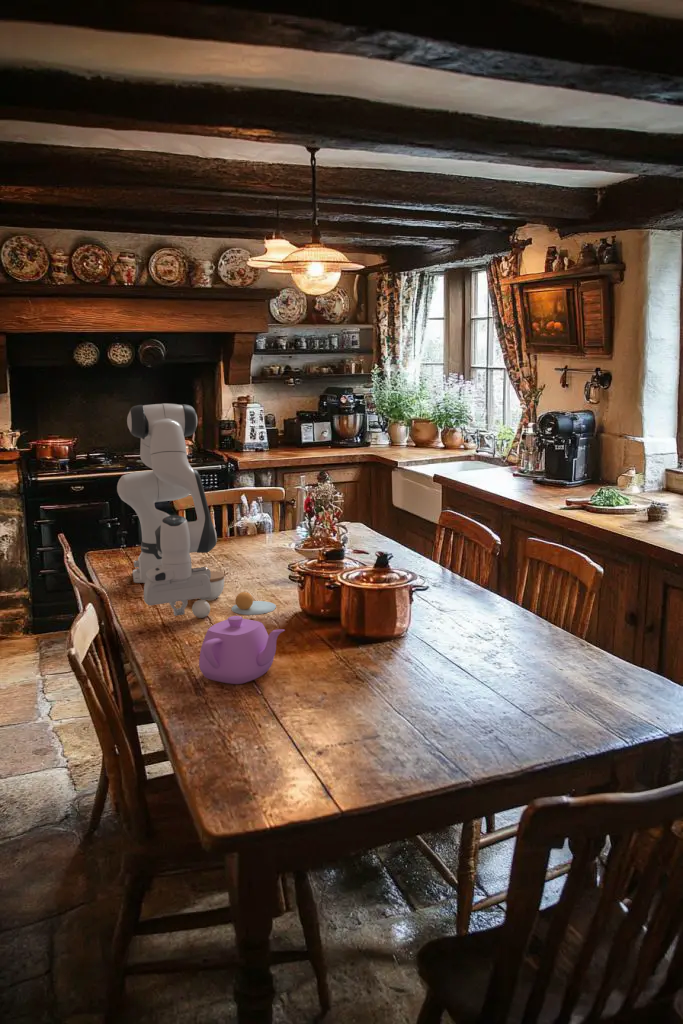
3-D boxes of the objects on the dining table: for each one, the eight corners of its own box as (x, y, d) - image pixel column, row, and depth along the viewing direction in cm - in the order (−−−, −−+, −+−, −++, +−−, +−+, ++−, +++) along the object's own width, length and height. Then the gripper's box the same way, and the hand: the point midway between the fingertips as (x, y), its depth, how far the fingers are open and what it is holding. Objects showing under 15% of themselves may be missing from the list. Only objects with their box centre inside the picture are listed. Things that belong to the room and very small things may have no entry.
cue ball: (208, 596, 264) (208, 612, 266) (191, 597, 262) (190, 613, 264) (212, 604, 259) (211, 620, 261) (193, 605, 257) (193, 621, 259)
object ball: (249, 589, 272) (248, 606, 273) (233, 590, 270) (232, 607, 270) (256, 593, 268) (255, 611, 268) (240, 594, 265) (239, 612, 266)
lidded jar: (208, 604, 275) (207, 576, 273) (185, 599, 282) (184, 571, 280) (232, 596, 284) (230, 569, 282) (209, 591, 290) (207, 564, 288)
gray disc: (225, 605, 274) (225, 604, 274) (266, 599, 280) (266, 598, 280) (240, 617, 261) (240, 616, 261) (282, 610, 267) (282, 610, 267)
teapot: (179, 685, 209) (176, 626, 207) (231, 658, 227) (229, 603, 224) (256, 703, 198) (253, 641, 195) (304, 673, 216) (303, 615, 213)
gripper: (207, 563, 265) (209, 606, 267) (140, 572, 256) (143, 616, 258) (213, 568, 259) (215, 612, 262) (146, 577, 250) (148, 622, 253)
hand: (179, 614), depth 260 cm, fingers closed
